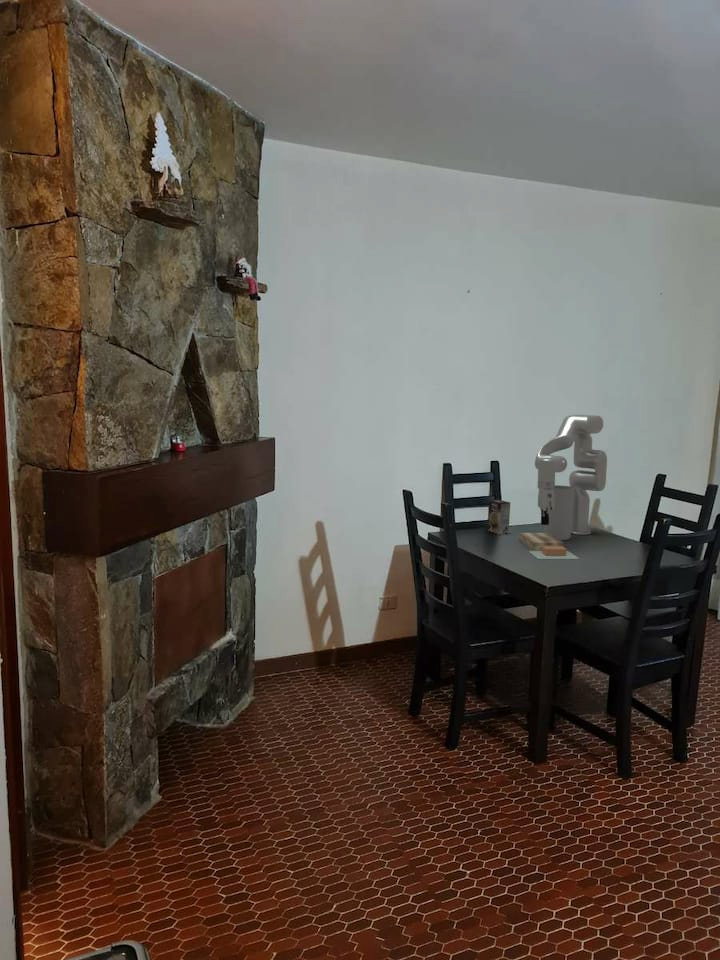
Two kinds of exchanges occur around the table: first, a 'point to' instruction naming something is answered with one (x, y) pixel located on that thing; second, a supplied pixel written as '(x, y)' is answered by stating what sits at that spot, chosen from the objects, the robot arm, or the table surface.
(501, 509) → the coffee box
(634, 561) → the table surface
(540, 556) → the mat
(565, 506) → the cylinder vase
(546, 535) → the board
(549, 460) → the robot arm
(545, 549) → the thick terracotta block
